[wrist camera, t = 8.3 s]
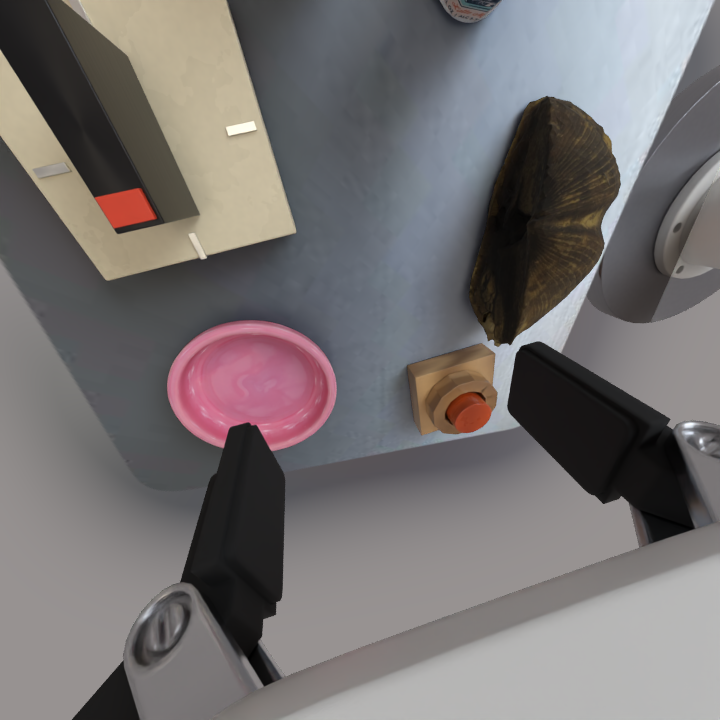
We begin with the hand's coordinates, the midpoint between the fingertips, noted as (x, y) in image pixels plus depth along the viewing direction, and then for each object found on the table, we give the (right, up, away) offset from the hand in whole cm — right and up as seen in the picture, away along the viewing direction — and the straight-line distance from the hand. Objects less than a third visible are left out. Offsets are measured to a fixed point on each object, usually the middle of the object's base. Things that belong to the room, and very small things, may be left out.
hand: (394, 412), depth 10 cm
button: (+9, -3, +17) cm, 19 cm away
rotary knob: (-11, +12, +3) cm, 17 cm away
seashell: (+12, +12, +13) cm, 21 cm away
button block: (+8, -1, +19) cm, 21 cm away
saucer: (-10, +1, +14) cm, 17 cm away
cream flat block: (-12, +13, +6) cm, 19 cm away
